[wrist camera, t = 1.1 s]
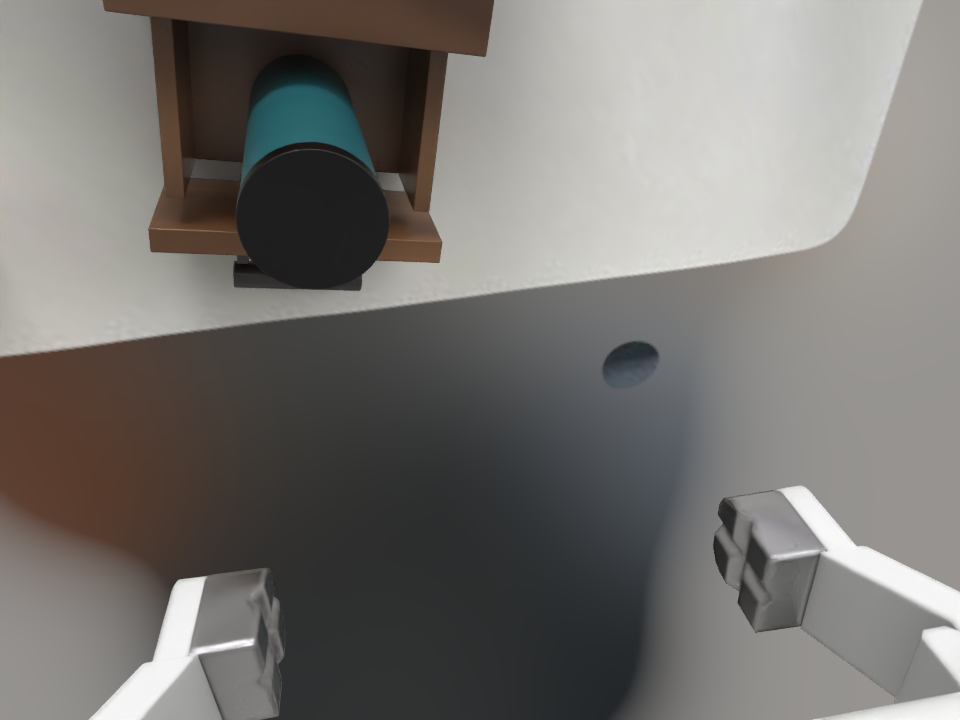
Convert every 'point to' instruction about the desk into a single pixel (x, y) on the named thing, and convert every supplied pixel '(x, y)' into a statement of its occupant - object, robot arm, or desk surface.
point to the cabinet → (340, 19)
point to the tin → (308, 179)
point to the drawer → (223, 123)
